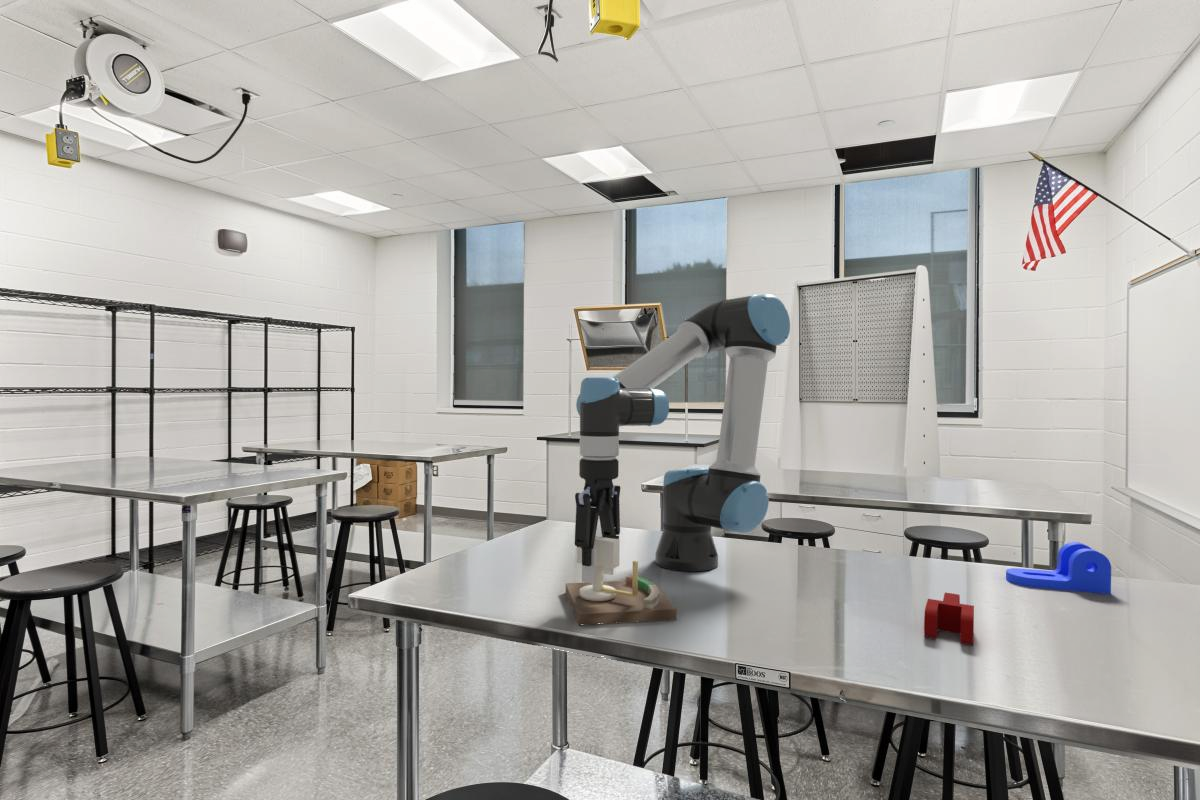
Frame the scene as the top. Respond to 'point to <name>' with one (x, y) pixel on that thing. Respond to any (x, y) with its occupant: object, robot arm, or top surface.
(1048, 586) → the bracket
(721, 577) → the top surface
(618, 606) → the wooden base board
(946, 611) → the mechanical linkage
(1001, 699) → the top surface
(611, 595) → the peg
